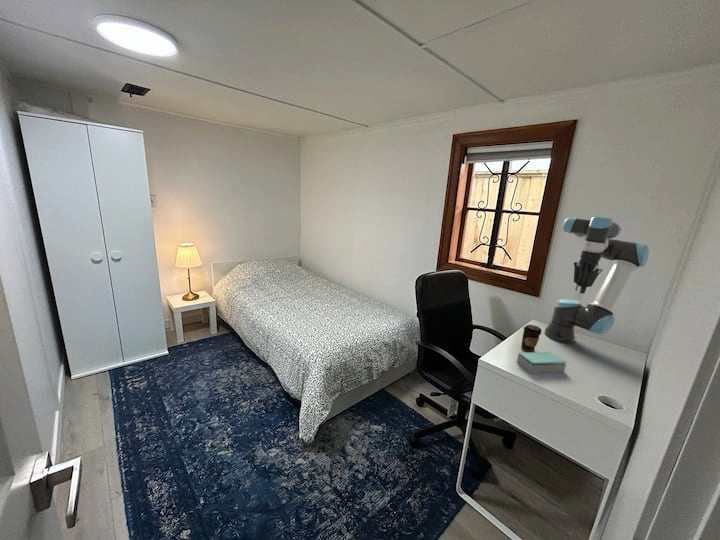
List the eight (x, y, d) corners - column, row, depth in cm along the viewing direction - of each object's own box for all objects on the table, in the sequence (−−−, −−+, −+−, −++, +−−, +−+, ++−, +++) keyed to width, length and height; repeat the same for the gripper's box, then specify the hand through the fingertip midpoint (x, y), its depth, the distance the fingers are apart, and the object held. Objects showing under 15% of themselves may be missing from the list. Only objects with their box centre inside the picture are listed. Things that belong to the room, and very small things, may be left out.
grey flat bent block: (548, 360, 147) (550, 353, 146) (564, 372, 138) (566, 364, 137) (516, 361, 144) (518, 354, 143) (530, 373, 135) (532, 365, 134)
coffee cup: (540, 354, 153) (546, 331, 150) (524, 353, 153) (530, 330, 150) (531, 346, 161) (536, 324, 158) (516, 344, 161) (521, 322, 158)
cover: (550, 353, 146) (551, 352, 146) (566, 363, 137) (566, 361, 137) (518, 354, 143) (519, 352, 143) (532, 363, 134) (532, 362, 134)
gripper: (573, 247, 142) (560, 293, 148) (598, 253, 130) (583, 303, 136) (586, 248, 144) (572, 294, 150) (612, 254, 131) (596, 304, 137)
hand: (577, 298), depth 143 cm, fingers closed
